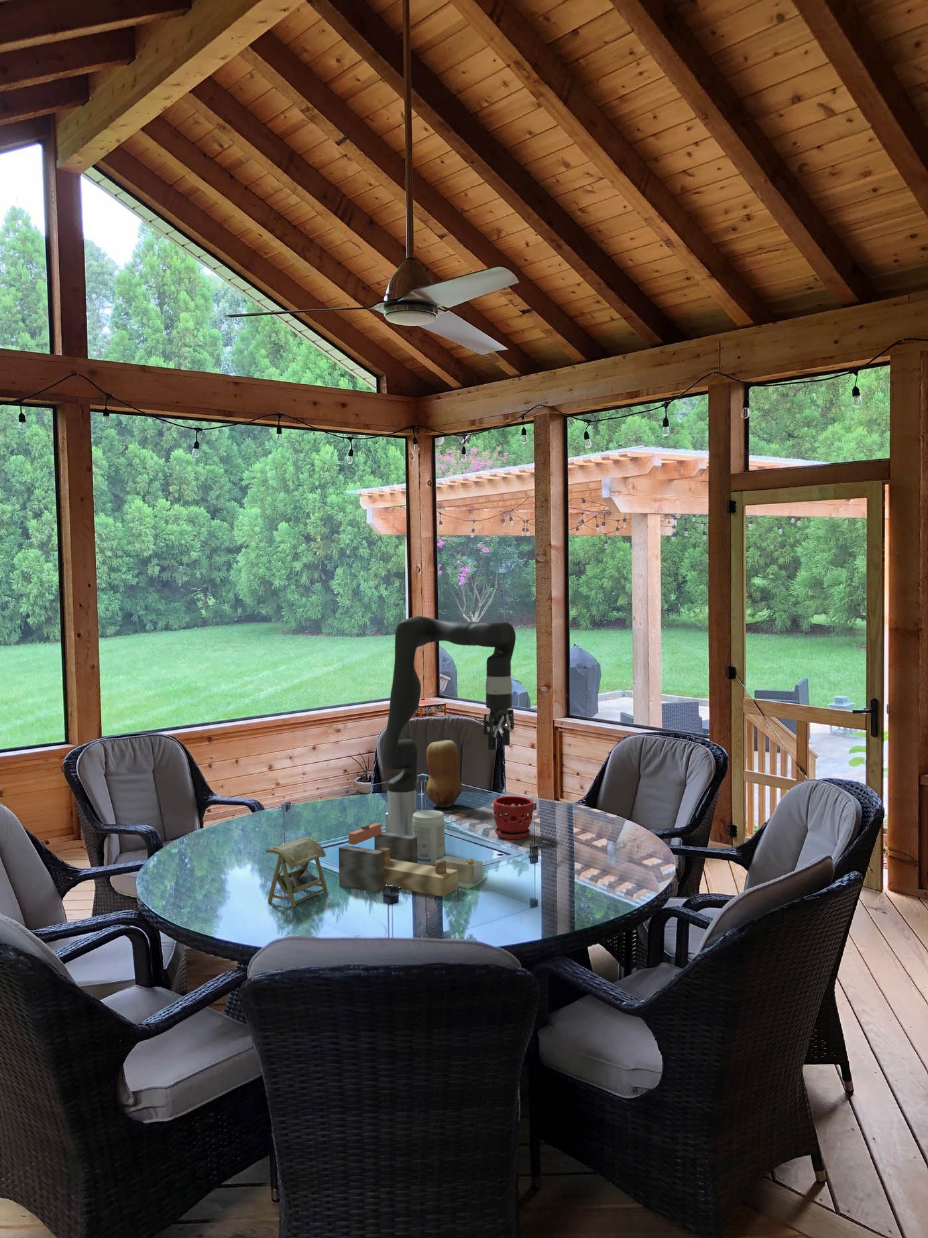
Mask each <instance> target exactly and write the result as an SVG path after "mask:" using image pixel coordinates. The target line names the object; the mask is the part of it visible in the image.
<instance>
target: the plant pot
mask: <svg viewBox="0 0 928 1238" xmlns="http://www.w3.org/2000/svg"><path fill="white" fill-rule="evenodd" d="M492 808H493V820H494V822H495V825H496V827H495V829H494V832H495V834H496V836H498V837H499V838H502V839H507V840H520V839H524V838H527V837H528V836H529V835H530V834H531V830H530V829H529V828H530V826H531V824H532V821H533V815H534V814H533V813H534V801H533V800H532V799H530V798H529V797H528V798H527V797H523V796H516V795H514V796H512V795H510V796H509V795H506V796H500V797H497V798H495V799H493V807H492Z"/></svg>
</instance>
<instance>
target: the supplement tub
mask: <svg viewBox="0 0 928 1238" xmlns="http://www.w3.org/2000/svg"><path fill="white" fill-rule="evenodd" d="M445 831H446V829H445V814H444V812H443V811H440V810H434V809H432V810H431V809H429V810H427V809H426V810H424V809H423V810H418V811H416V812H415V813H414V814H413V836H417V855H418V864H424V865H430V866H435V861H437V860H438V859H440V858H442V857H444V856H446V838H445V837H446V836H445V835H446V834H445V833H446V832H445Z"/></svg>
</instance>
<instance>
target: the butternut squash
mask: <svg viewBox="0 0 928 1238" xmlns="http://www.w3.org/2000/svg"><path fill="white" fill-rule="evenodd" d="M426 762H427V767H428V771H429V772H428V773H429V777H428V780H427V783H426V795H427V797H428V799H429V801H431V802H432V803H433V804H435V805H436V806H437V807H438V808H451V807H452V806H454V804H455V803H456V802H457V800H458V799H459V797H460V795H461V794H462V791H463V790H462V789H463V784H462V781H461V779H460V772H459V770H460V765H461V764H460V755H459V750H458V746H457V744H456V743H455V741H454V740H451V739H449V740H448V739H444V740H439V741H433V742H430V744H429V745H428V746H427V748H426Z"/></svg>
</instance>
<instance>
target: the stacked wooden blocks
mask: <svg viewBox="0 0 928 1238" xmlns="http://www.w3.org/2000/svg"><path fill="white" fill-rule="evenodd" d="M373 839H374V841H373V842H374V844H373V845H374V849H373V848H366V847H358V846H355V845H349V844H344V845H342V846H339V847H338V886H339V887H343V888H349V889H354V890H359V891H364V892H365V891H366V892H369V893H375V894H378V893H381V892H382V890H383V889H384V890H385V886H384V885H386V884H387V885H393V886H398V887H400V888H401V889H400V890H404V891H405V890H406V891H411V892H416V893H420V894H428V895H432V896H437V897H445V896H447V895H448V894H450V893H452V892H454V891H456V890H457V889H459V887H458V870H454V869H448V868H446V861H445V860H437V861H435V865H434V866H430V865H424V864H418V855H417V836H410V835H403V834H397V833H390V832H385V831H382V830H381V834H380V835H378V836H375V837H373ZM384 890H383V891H384Z"/></svg>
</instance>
